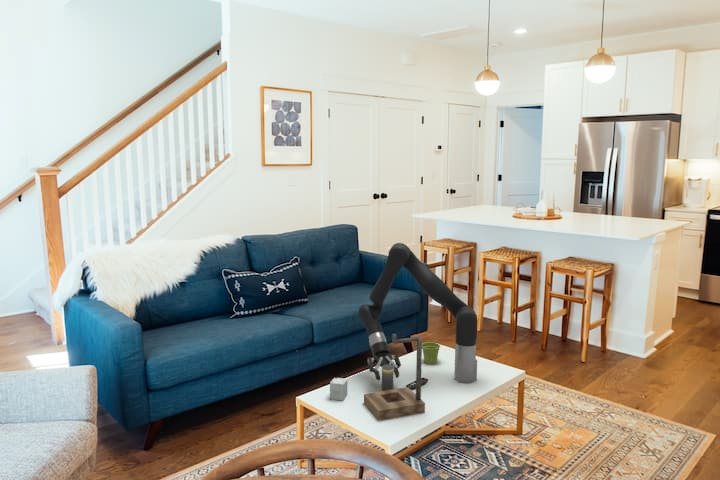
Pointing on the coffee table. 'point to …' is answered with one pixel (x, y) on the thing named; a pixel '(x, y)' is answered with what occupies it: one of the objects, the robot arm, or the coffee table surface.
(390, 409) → the wooden gallows stand
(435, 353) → the plant pot
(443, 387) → the coffee table surface
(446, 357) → the coffee table surface
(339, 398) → the skincare box
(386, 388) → the banded grey cylinder
